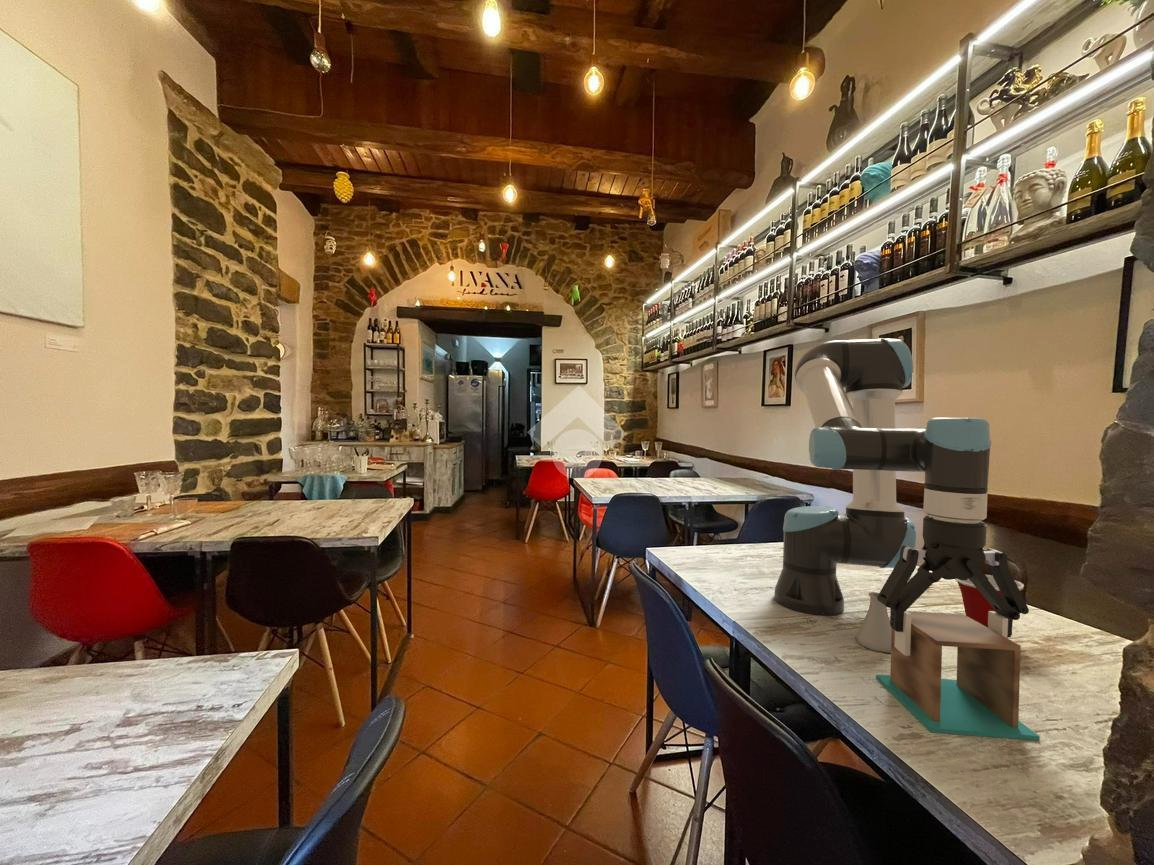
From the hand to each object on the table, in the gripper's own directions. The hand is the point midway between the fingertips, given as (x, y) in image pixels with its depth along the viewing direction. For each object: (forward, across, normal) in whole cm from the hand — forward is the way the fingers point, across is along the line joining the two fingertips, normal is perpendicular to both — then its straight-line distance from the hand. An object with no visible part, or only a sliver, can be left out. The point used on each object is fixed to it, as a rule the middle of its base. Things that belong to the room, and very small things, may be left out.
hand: (948, 654), depth 71 cm
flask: (+8, 0, +19) cm, 21 cm away
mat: (+8, 0, -1) cm, 8 cm away
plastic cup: (+9, +25, +26) cm, 37 cm away
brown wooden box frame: (+7, 0, -1) cm, 7 cm away
